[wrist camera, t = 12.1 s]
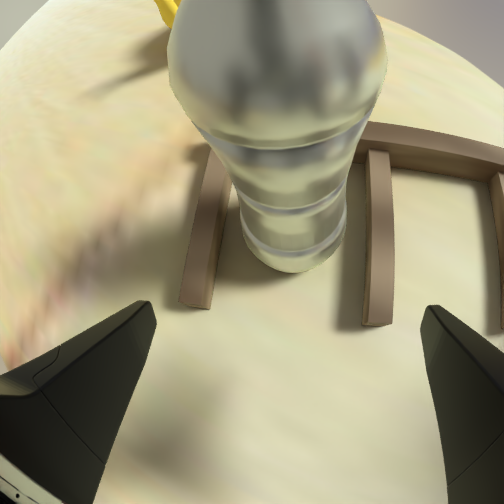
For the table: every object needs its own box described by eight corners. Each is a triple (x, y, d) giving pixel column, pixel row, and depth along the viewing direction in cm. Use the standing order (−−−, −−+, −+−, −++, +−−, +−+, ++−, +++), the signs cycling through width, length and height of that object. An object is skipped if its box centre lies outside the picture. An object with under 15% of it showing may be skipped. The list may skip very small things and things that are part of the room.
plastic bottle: (232, 259, 21) (24, -31, 2) (271, 178, 23) (199, -109, 4) (321, 295, 20) (402, -112, 1) (354, 206, 21) (411, -106, 2)
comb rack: (514, 328, 16) (544, 321, 12) (189, 306, 21) (166, 296, 17) (495, 168, 20) (514, 145, 16) (223, 138, 25) (211, 108, 21)
